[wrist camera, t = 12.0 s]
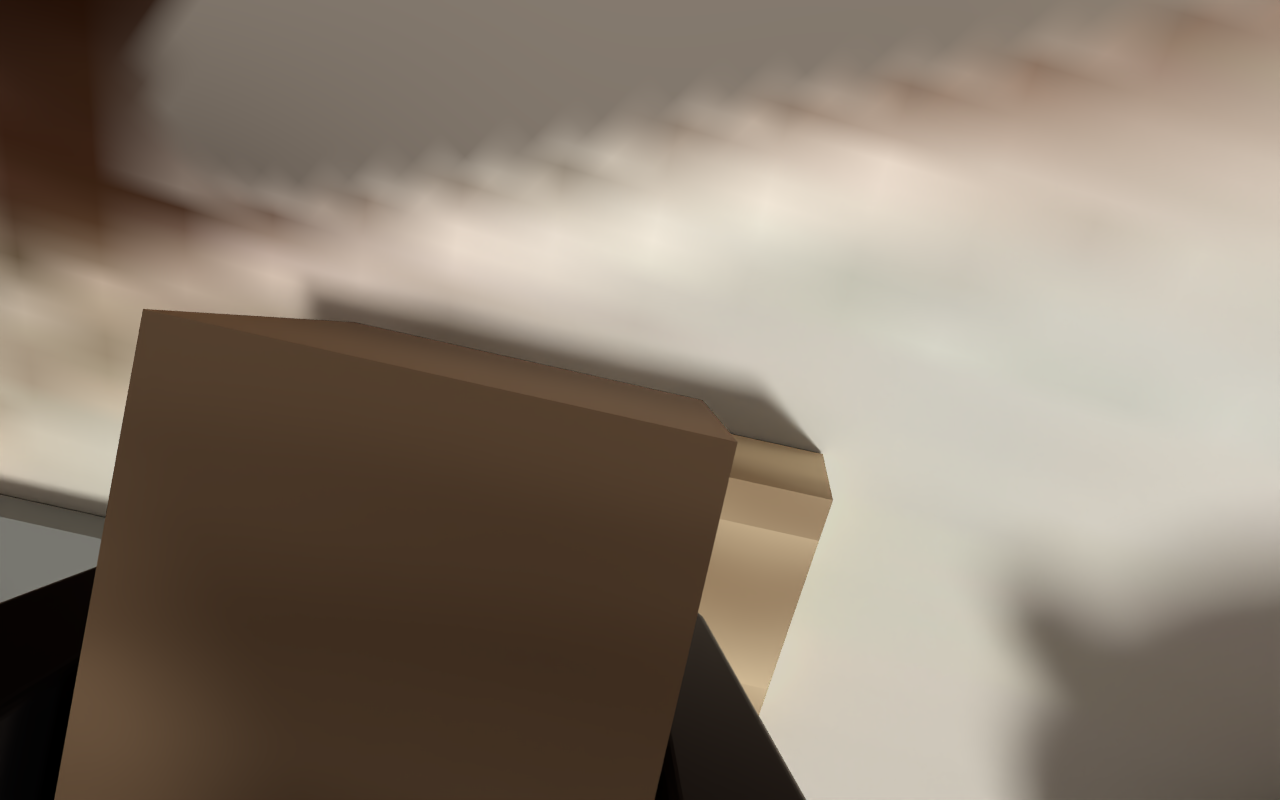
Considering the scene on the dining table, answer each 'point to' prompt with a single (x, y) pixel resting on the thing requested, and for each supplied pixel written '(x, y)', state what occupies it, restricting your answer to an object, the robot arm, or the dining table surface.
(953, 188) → the dining table surface
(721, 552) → the oak holder
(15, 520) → the grey mat
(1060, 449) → the dining table surface
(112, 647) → the walnut block
